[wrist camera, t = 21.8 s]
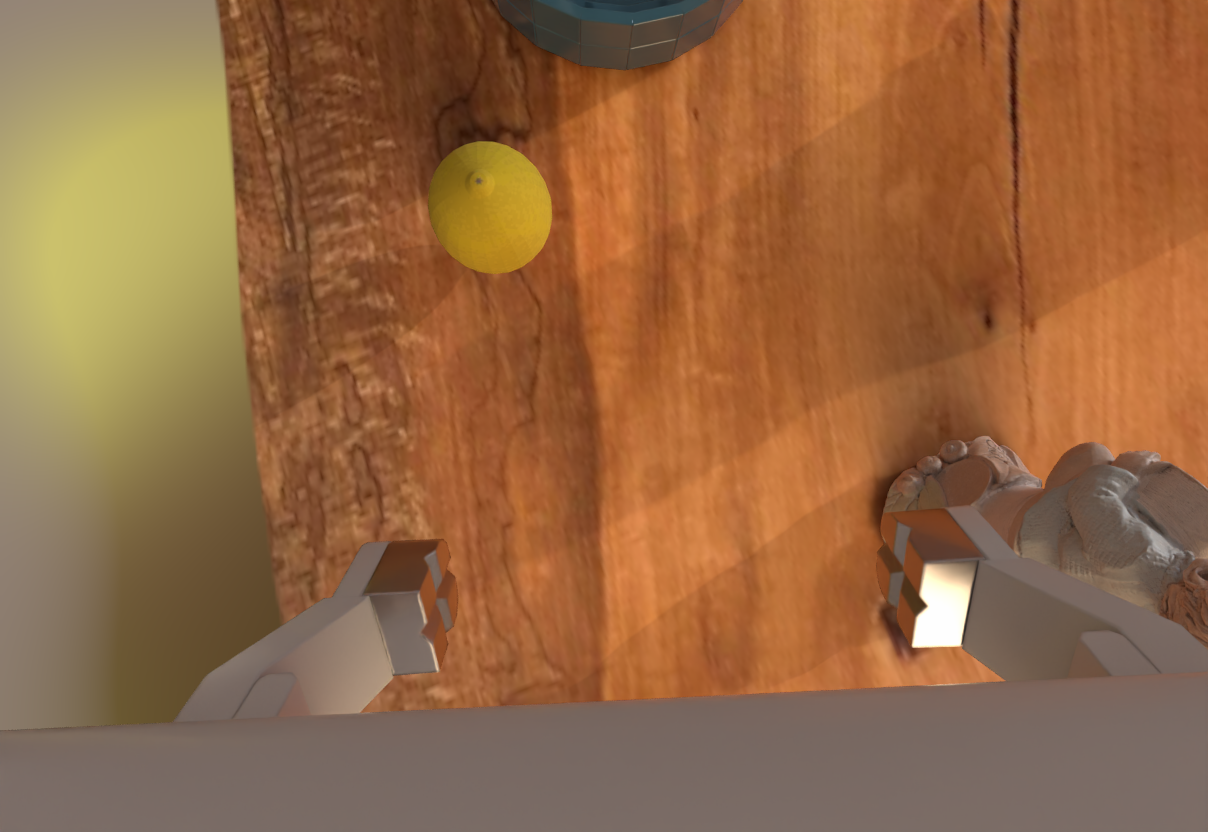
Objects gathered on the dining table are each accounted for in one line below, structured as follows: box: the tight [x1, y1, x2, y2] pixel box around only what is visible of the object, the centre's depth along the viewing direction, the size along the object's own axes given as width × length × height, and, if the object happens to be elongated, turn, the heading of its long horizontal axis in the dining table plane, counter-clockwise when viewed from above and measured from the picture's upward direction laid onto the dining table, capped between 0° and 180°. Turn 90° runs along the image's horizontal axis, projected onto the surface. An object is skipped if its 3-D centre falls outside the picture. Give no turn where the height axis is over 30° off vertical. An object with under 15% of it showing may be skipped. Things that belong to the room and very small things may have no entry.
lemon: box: [428, 141, 552, 274], centre depth 31 cm, size 6×6×8 cm
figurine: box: [881, 436, 1208, 649], centre depth 25 cm, size 9×8×20 cm
